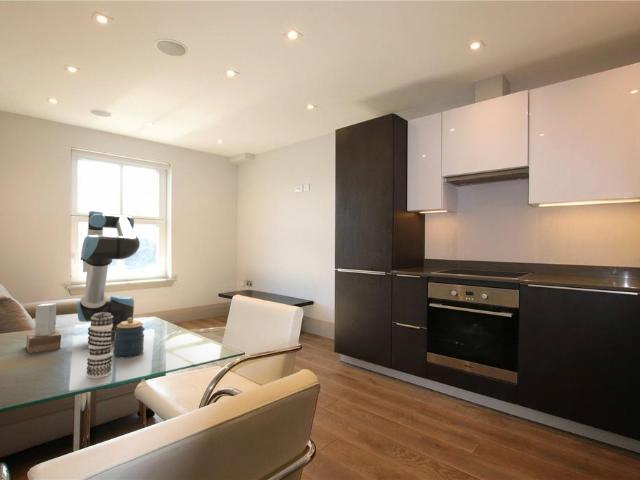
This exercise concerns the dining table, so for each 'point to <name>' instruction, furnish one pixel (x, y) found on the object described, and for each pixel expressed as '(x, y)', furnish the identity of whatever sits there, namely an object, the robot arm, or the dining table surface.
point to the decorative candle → (100, 345)
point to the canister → (128, 339)
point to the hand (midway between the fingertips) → (93, 272)
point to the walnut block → (43, 342)
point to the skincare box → (45, 319)
